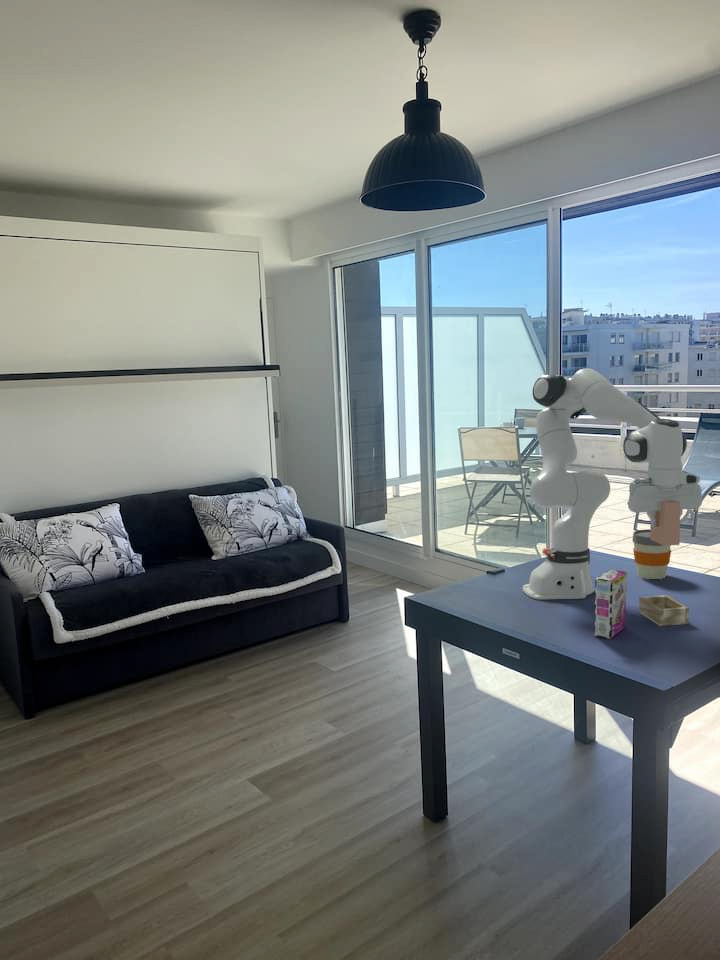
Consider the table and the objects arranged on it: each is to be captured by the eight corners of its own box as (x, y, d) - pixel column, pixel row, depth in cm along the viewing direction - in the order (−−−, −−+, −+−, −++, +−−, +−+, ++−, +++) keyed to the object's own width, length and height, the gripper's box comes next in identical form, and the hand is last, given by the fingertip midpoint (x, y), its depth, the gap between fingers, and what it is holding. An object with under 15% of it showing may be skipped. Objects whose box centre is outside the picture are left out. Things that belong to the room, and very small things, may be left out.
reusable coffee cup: (634, 581, 245) (634, 537, 243) (630, 570, 257) (630, 529, 255) (674, 581, 242) (675, 537, 240) (668, 571, 254) (668, 529, 252)
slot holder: (659, 626, 204) (660, 610, 203) (639, 612, 215) (639, 597, 215) (688, 623, 204) (688, 607, 204) (666, 609, 216) (666, 594, 215)
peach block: (664, 545, 202) (664, 503, 200) (650, 539, 210) (650, 498, 208) (679, 544, 203) (680, 502, 201) (664, 538, 210) (665, 497, 209)
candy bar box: (612, 640, 195) (612, 581, 193) (593, 636, 198) (593, 578, 196) (627, 627, 204) (627, 570, 201) (609, 624, 207) (609, 568, 204)
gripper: (635, 481, 200) (634, 530, 202) (705, 476, 202) (704, 525, 204) (624, 478, 206) (624, 526, 208) (692, 473, 208) (692, 521, 210)
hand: (664, 525), depth 206 cm, fingers closed on peach block, 4 cm apart
